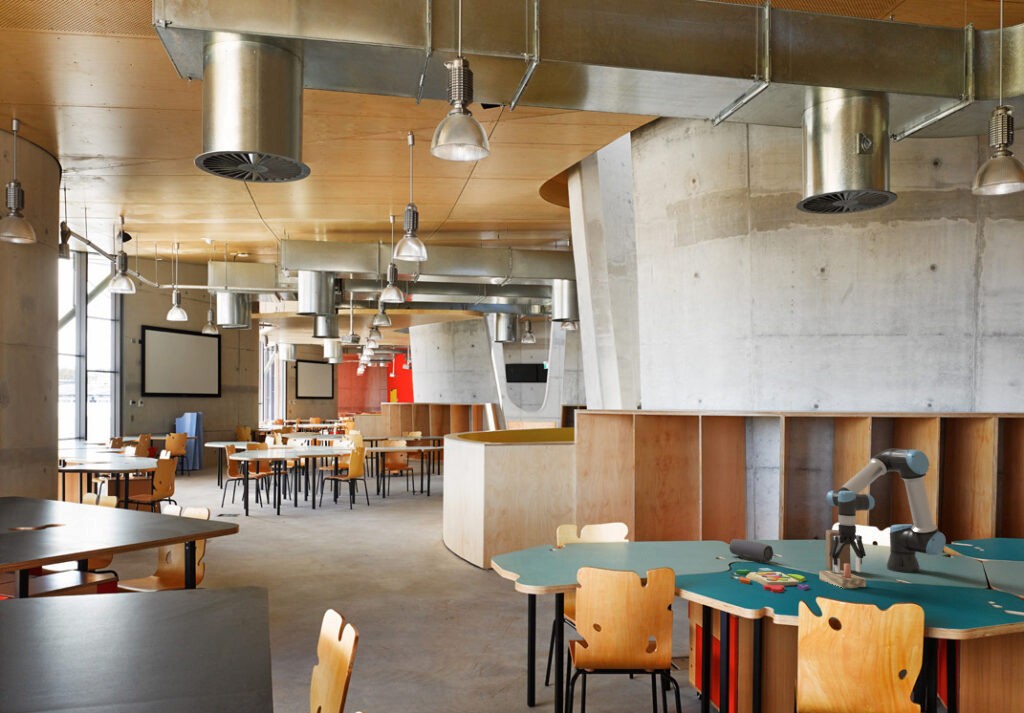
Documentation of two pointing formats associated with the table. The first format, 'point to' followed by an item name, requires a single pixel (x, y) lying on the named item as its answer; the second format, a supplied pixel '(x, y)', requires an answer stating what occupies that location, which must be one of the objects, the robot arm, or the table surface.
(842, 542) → the robot arm
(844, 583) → the hole block
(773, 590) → the pattern blocks set
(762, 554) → the bluetooth speaker
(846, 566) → the red peg
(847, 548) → the wooden block
